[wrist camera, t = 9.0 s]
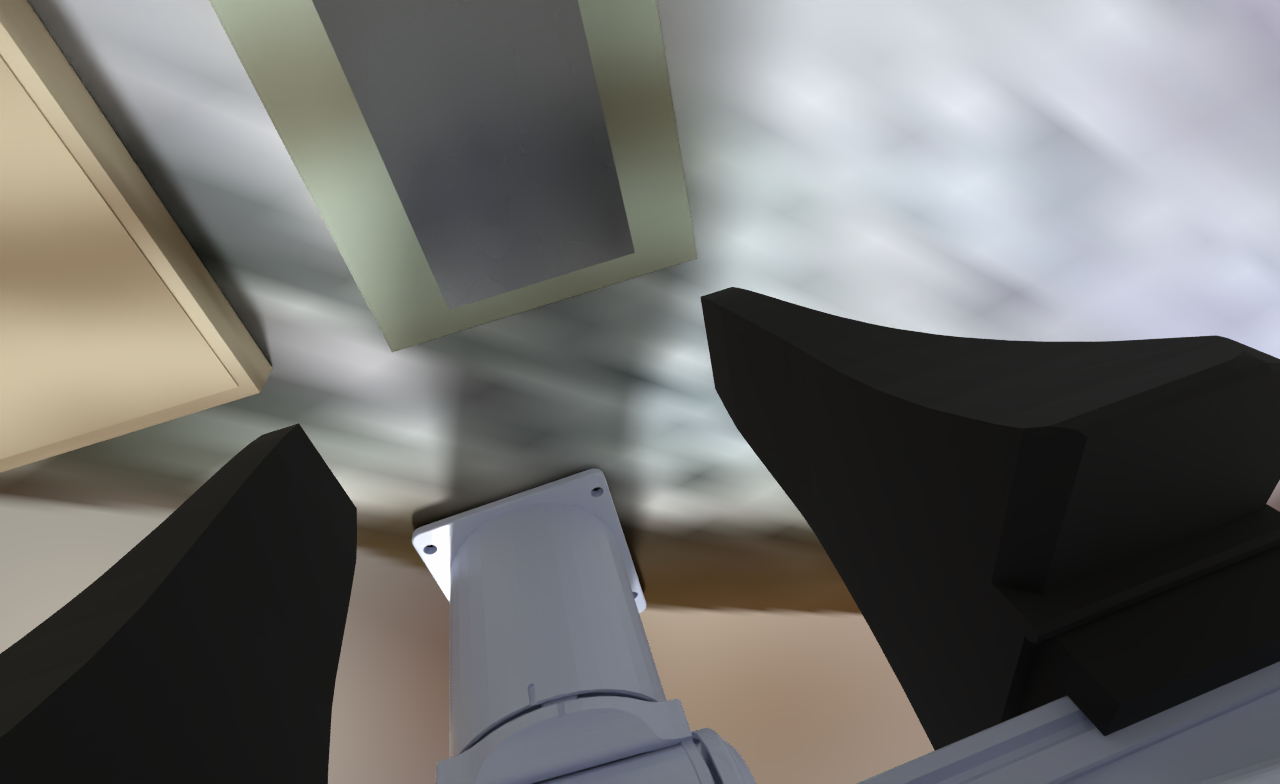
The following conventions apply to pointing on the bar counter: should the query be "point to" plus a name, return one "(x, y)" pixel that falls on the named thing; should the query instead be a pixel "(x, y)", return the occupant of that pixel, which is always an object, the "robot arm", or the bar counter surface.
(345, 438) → the bar counter surface
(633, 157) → the stand
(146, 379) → the stand
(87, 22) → the bar counter surface
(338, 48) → the block
